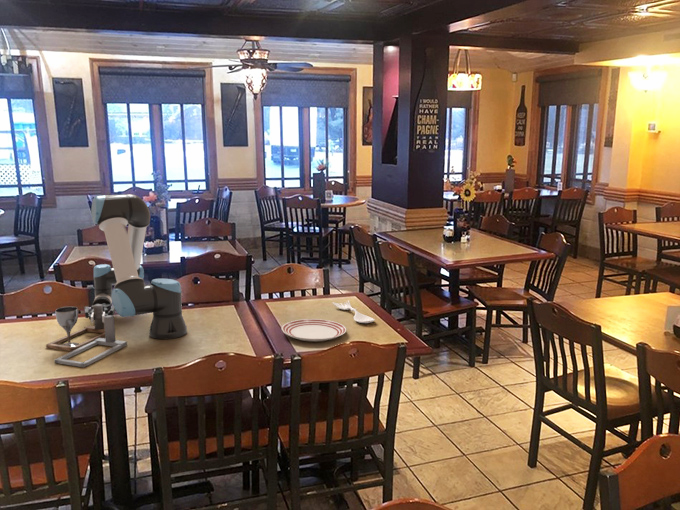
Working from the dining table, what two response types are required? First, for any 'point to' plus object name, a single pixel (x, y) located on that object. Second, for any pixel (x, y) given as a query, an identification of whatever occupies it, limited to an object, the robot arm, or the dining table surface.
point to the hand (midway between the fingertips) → (97, 319)
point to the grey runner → (108, 341)
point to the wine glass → (67, 320)
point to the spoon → (358, 316)
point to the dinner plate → (313, 329)
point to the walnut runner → (97, 328)
